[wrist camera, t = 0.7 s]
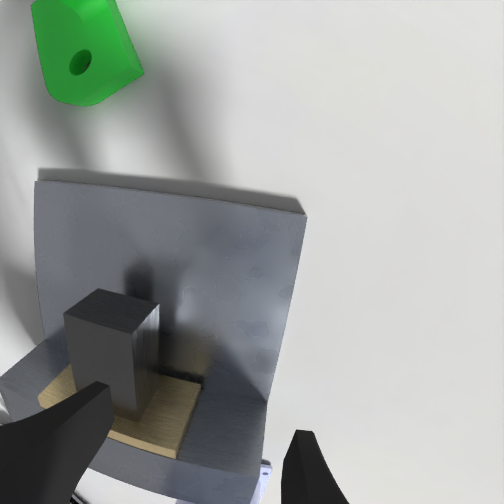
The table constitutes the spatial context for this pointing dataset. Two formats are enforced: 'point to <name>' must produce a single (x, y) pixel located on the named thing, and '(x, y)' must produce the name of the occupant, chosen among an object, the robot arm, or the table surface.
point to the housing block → (171, 319)
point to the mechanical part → (83, 49)
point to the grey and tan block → (125, 371)
